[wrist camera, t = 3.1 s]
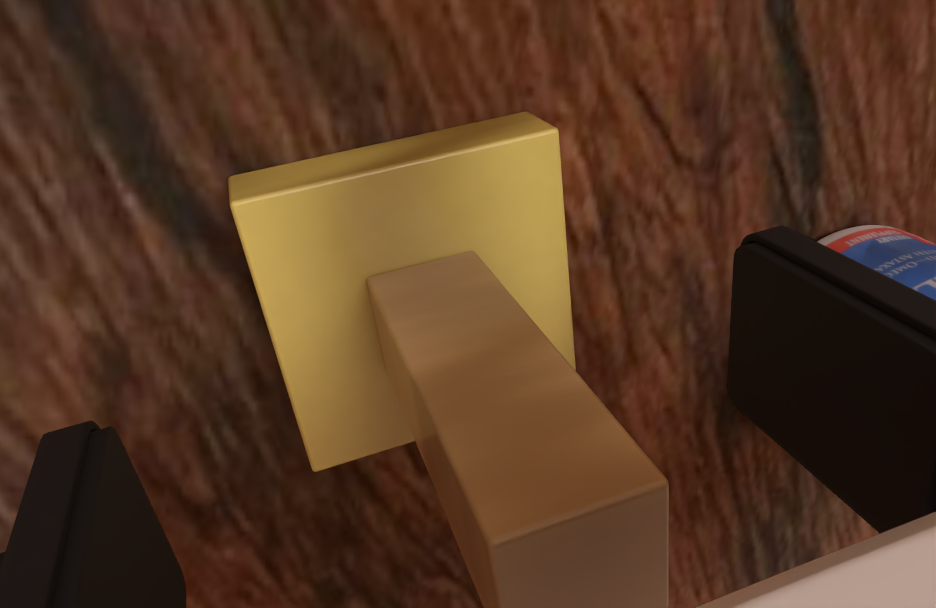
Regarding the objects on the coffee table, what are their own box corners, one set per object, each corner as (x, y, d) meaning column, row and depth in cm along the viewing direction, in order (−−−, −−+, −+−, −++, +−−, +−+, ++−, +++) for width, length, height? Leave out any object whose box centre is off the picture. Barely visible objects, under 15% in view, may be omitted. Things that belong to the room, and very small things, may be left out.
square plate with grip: (527, 109, 14) (841, 280, 7) (550, 356, 16) (791, 653, 10) (226, 175, 13) (248, 458, 6) (303, 429, 15) (381, 825, 8)
